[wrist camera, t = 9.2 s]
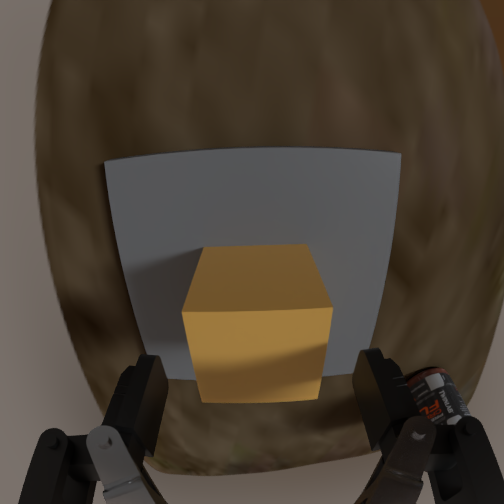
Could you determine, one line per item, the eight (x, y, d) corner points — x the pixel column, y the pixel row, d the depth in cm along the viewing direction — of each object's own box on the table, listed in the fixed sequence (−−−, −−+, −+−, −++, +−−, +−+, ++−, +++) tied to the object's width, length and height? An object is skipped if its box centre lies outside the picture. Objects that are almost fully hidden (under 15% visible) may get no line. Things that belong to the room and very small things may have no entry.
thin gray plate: (111, 159, 15) (64, 176, 10) (393, 151, 15) (442, 165, 10) (157, 368, 22) (142, 417, 17) (358, 363, 21) (376, 411, 17)
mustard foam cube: (203, 247, 16) (181, 311, 11) (306, 243, 16) (333, 307, 11) (213, 328, 18) (202, 402, 13) (301, 325, 18) (317, 398, 13)
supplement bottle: (416, 363, 22) (465, 465, 12) (455, 365, 23) (503, 449, 12) (383, 404, 24) (414, 499, 14) (423, 403, 25) (457, 485, 15)
